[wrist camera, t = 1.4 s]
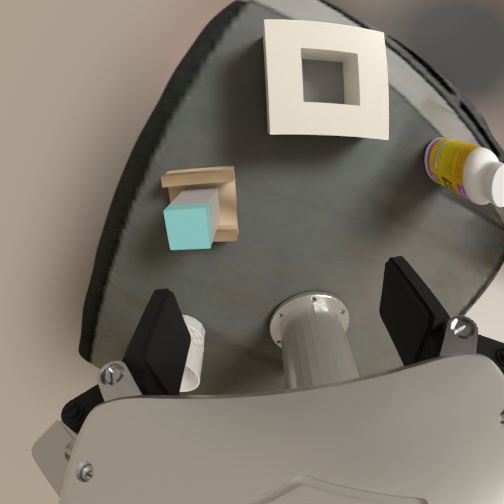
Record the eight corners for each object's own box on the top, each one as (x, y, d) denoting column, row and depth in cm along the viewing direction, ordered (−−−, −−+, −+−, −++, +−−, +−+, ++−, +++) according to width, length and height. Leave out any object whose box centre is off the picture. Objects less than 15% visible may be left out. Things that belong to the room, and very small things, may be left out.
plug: (220, 218, 33) (210, 248, 26) (188, 220, 33) (170, 250, 26) (217, 186, 31) (205, 208, 24) (184, 189, 31) (163, 211, 24)
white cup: (205, 311, 41) (194, 361, 32) (211, 346, 44) (203, 394, 35) (157, 309, 41) (138, 356, 32) (168, 344, 45) (153, 388, 36)
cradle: (238, 231, 35) (237, 241, 32) (177, 234, 35) (171, 244, 32) (234, 165, 31) (232, 170, 28) (168, 171, 31) (160, 176, 28)
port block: (366, 135, 28) (388, 140, 23) (267, 132, 29) (270, 134, 23) (363, 44, 23) (383, 32, 18) (262, 36, 23) (264, 19, 18)
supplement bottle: (416, 172, 30) (478, 203, 19) (430, 128, 27) (497, 143, 16) (447, 189, 31) (506, 224, 19) (461, 149, 28) (524, 172, 16)
